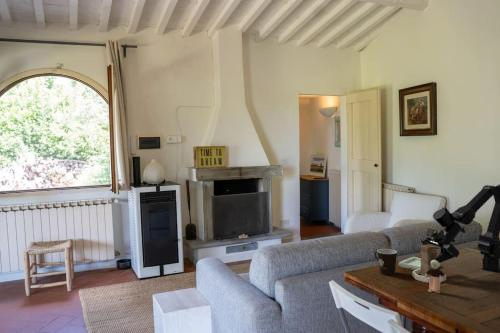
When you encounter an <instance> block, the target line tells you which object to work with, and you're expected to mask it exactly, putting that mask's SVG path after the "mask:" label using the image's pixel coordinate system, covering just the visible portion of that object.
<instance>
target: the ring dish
mask: <svg viewBox="0 0 500 333" xmlns="http://www.w3.org/2000/svg"><path fill="white" fill-rule="evenodd" d="M411 271H412V272H411V273H412V277H413V278H414V279H415V280H417V281H419V282H423V283H430V277H427V278H426V277H424V276H421V269H417V270H411ZM439 277H440V283H442V282H445V281H446V280H444V279H443V277H442V276H440V275H439ZM445 277H446V278H447V274H445Z"/></svg>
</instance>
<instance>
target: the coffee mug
mask: <svg viewBox="0 0 500 333" xmlns="http://www.w3.org/2000/svg"><path fill="white" fill-rule="evenodd" d="M397 256H398V251H397V250H395V249H390V248H380V249H377V250H375V251H374V257H375V260H376V261H377V263H378V267H379V274H381V275H383V276H394V275H395V274H396V266H397Z"/></svg>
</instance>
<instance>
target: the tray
mask: <svg viewBox="0 0 500 333" xmlns="http://www.w3.org/2000/svg"><path fill="white" fill-rule="evenodd" d="M439 264H440V266H439V267H438V268H440V267H441V263H439ZM398 267H399V268H404V269H407V270H411V271H414V270H417V269H421V259H420V257H416V256H411V257H409V258H406V259H403V260H400V261H399V262H398Z"/></svg>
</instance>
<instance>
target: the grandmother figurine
mask: <svg viewBox="0 0 500 333" xmlns="http://www.w3.org/2000/svg"><path fill="white" fill-rule="evenodd" d="M431 266H432V268H430V269H429V270H428V271H427V272H426V274H425V277H426V278H427V277H428V275H429V274H431V276H430V283H429V289H428V290H427V292H429V293H435V294H441V282H440V277H441V276H442V277H443V279H444V280H445V281H447V276H446V277H445V275H446V274H445V272H443V271H442V270H441V269H439V268H440V267H441V263H440V264H439V262H438V261H436V260H432V261H431ZM439 266H440V267H439ZM439 275H440V276H439Z"/></svg>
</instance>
